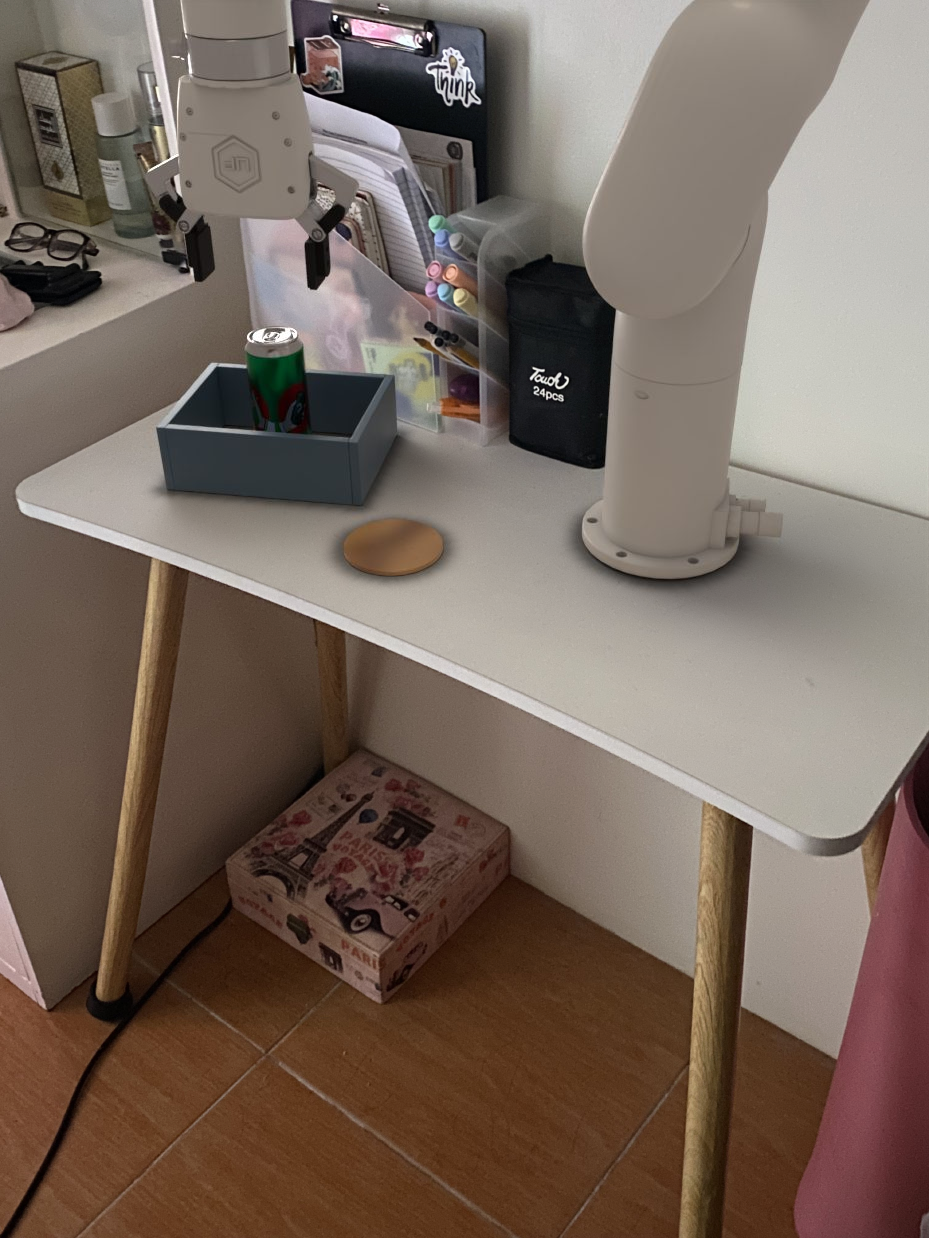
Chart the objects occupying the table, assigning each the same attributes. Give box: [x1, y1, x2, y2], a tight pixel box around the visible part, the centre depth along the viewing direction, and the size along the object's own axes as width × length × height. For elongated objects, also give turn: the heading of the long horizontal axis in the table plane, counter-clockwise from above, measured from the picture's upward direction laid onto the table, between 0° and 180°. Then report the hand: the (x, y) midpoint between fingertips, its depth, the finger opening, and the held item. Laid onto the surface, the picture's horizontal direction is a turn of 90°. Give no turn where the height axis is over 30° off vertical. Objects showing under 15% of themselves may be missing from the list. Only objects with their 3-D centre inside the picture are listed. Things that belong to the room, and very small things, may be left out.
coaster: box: [342, 518, 444, 577], centre depth 98 cm, size 8×8×1 cm
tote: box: [155, 362, 398, 506], centre depth 109 cm, size 18×14×6 cm
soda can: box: [244, 325, 313, 435], centre depth 107 cm, size 5×5×12 cm
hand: (260, 280), depth 101 cm, fingers open, 9 cm apart
